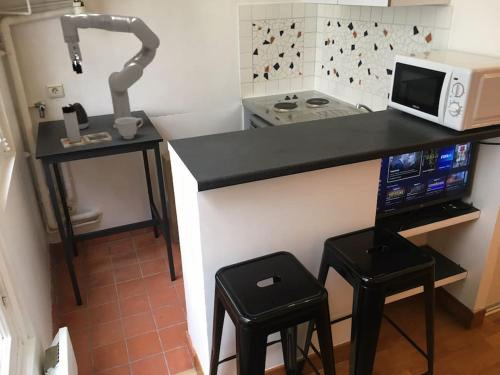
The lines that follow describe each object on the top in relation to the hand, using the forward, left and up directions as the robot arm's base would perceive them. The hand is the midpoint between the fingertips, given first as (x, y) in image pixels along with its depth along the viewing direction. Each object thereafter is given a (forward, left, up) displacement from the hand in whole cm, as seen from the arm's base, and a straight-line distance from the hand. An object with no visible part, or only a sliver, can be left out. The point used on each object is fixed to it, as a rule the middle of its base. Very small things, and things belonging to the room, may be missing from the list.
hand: (78, 72), depth 229 cm
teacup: (-18, +25, -34) cm, 46 cm away
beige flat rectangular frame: (+4, +18, -33) cm, 38 cm away
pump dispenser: (+3, -9, -34) cm, 35 cm away
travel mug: (+10, +18, -33) cm, 39 cm away
